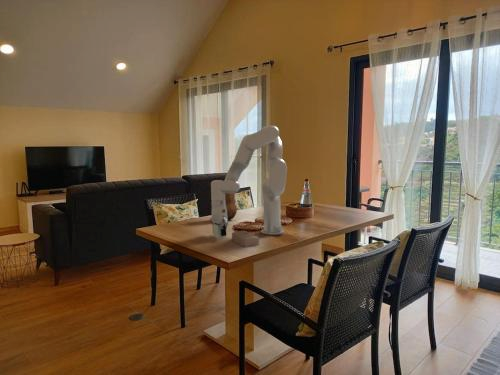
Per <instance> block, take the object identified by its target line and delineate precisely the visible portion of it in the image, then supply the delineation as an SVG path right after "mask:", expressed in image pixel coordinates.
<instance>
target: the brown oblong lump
mask: <svg viewBox="0 0 500 375" xmlns="http://www.w3.org/2000/svg"><path fill="white" fill-rule="evenodd" d="M235 199H236V193H234V194H230V193H225V206H226V209H227V217H228V221H230V220H233V219H234V218H235V216H236V215H237V210H238V208H237V204H236V200H235Z"/></svg>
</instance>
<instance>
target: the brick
mask: <svg viewBox="0 0 500 375" xmlns="http://www.w3.org/2000/svg"><path fill="white" fill-rule="evenodd" d="M259 239H260V238H259V237H258V236H257V235H254V234H251V233H250V232H249V231H247V230H239V231H234V232H232V233H231V240H232V241H233V242H235V243H236V244H238V245H240V246H242V247H244V248H249V247H256V246H259V245H260V240H259Z"/></svg>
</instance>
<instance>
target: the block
mask: <svg viewBox="0 0 500 375" xmlns="http://www.w3.org/2000/svg"><path fill="white" fill-rule="evenodd" d="M212 234H213V235H212V236H213V238H216V239H223V238H226V237H227V235H226V236H221V226H220V224H213V226H212Z"/></svg>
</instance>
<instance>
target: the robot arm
mask: <svg viewBox="0 0 500 375" xmlns="http://www.w3.org/2000/svg"><path fill="white" fill-rule="evenodd" d="M266 146H267V147H266ZM283 146H284V145H283V142H282V140H281V138H280V130H279V128H278V127H277V126H276V125H266V126H263V127H262V128H260V130H258V131H256V132H254V133H249V134H245V136H244V137H243V138H242V140H241V142H240V144H239V147H238V149H237V151H236V154H235V157H234V159H233V161H232V162H231V164H230V167H229V169H228V171H227V173H226V174H225V175H226V176H224V177H225V179H224V180H222V179H215V180H212V181H211V182H210V188H211V189H210V194H211V198H210V200H211V217H210V221H211V226H212V227H213V224H220V226H221V236H226V237H227V227H228V224H229V220H228V217H227V209H226V206H225V193H230V194H234V193H235V194H236V193H238V192H239V191H240V188H241V186H240V183H239V182H238V181H239V179H240V177H241V175H242V173H243V172H244V171H245V170H246V169H247V168H248V167H249V165H250V162H251V160H252V157H253V155H254V152H255V151H256V150H259V149H261V148H264V147H266V148H267V153H266V154H267V155H266V163H265V170H266V172H267V173H268V174H269V177H266V178H265V179H264V180H263V182H262V184H261V185H262V187H261V188H262V196H263V199H262V200H263V229H261V234H263V235H270V236H274V235H275V236H277V235H282V234H283V233H284V231H285V228H284V227H283V226H282V224H281V222H282V220H281V218H282V216H281V215H282V214H281V195H283V193H284V192H285V190H286V185H287V175H288V166H287V165H288V164H287V163H286V161H285V160H283V154H284V153H283V151H284V149H283V148H284V147H283Z"/></svg>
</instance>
